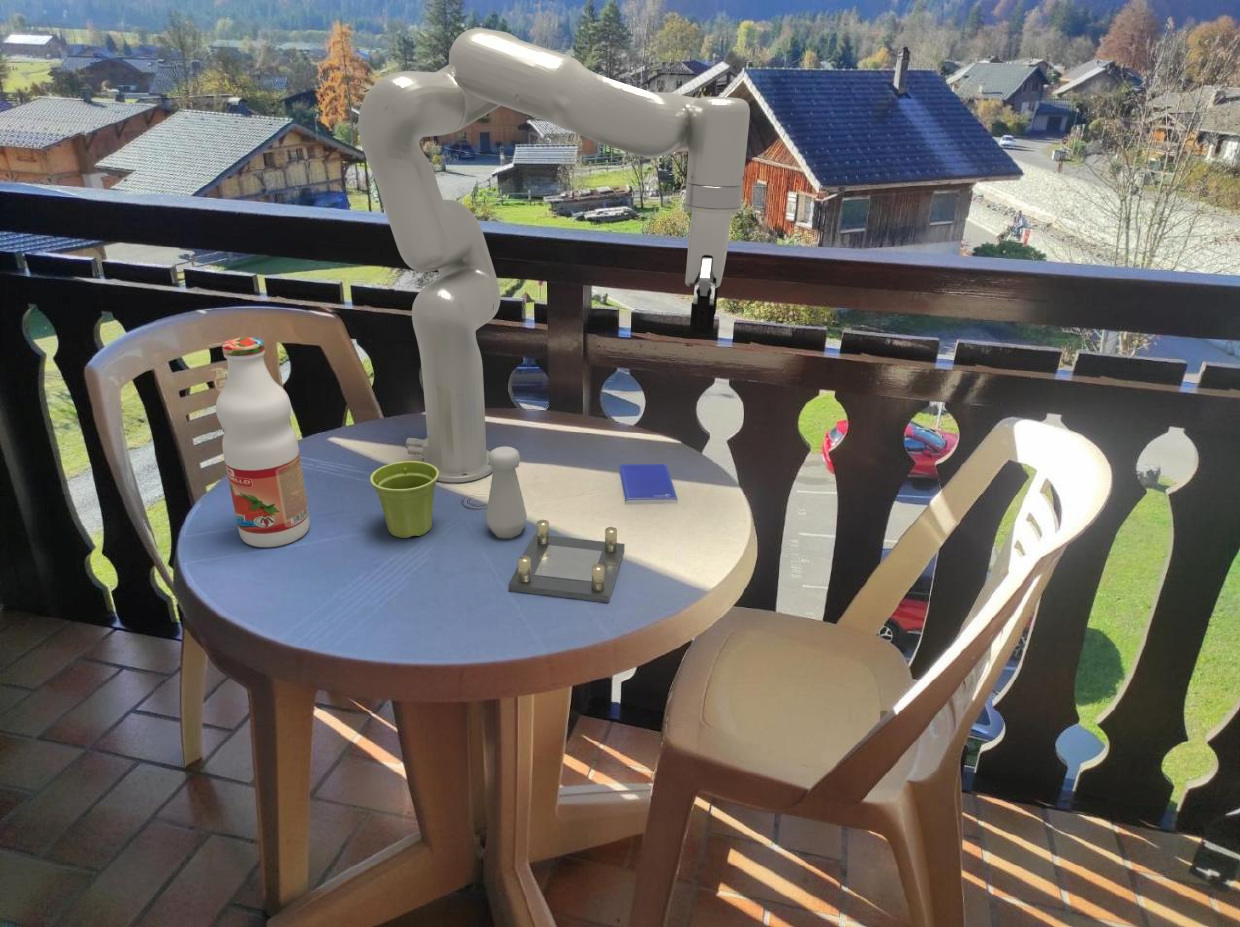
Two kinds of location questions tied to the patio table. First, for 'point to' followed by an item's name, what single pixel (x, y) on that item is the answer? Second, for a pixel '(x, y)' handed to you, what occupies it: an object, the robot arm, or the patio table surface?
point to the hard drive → (647, 484)
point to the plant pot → (406, 496)
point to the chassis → (568, 566)
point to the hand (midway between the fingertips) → (702, 322)
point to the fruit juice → (260, 450)
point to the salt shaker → (505, 494)
